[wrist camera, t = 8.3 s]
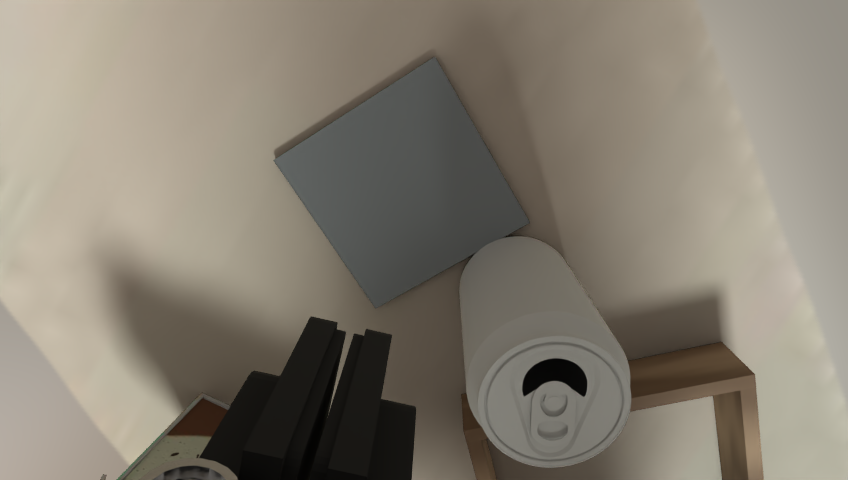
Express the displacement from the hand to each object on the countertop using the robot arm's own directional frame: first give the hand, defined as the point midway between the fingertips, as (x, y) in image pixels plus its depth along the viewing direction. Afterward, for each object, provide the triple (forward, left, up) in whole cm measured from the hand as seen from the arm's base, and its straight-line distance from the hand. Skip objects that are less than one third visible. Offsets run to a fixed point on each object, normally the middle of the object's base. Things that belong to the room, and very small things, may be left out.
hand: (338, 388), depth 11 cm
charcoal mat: (0, 0, -19) cm, 19 cm away
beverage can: (-8, -2, -20) cm, 22 cm away
